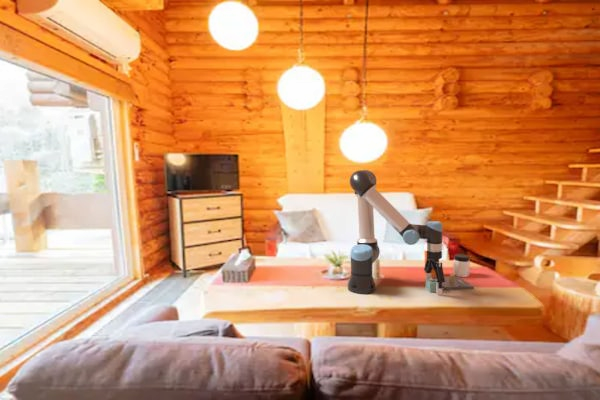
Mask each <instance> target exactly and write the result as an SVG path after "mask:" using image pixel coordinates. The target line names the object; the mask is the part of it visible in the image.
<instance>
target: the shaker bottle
mask: <svg viewBox="0 0 600 400" xmlns="http://www.w3.org/2000/svg"><path fill="white" fill-rule="evenodd" d="M423 251H424V254H423V255H424V265H425V264H426V260H427V242H425V244H424V247H423ZM431 272H432V273H431V278H432V277H436V274H435V270H433V269H432V271H431ZM424 275H425V276H426V272H425V271H424Z"/></svg>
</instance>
